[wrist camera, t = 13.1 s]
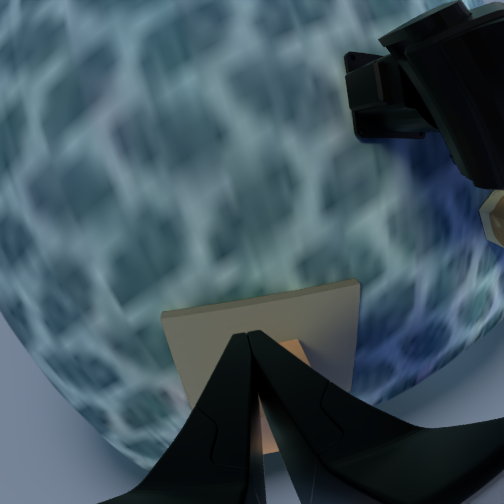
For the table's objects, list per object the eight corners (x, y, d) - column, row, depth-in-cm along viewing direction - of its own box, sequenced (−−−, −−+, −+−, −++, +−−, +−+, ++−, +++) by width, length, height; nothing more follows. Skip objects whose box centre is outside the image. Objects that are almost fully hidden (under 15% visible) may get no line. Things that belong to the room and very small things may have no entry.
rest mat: (354, 278, 22) (360, 283, 21) (346, 384, 26) (350, 391, 25) (162, 311, 21) (160, 318, 20) (197, 414, 25) (197, 422, 24)
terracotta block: (297, 338, 22) (327, 401, 16) (299, 378, 24) (324, 440, 17) (240, 349, 22) (253, 418, 15) (247, 389, 23) (261, 454, 17)
